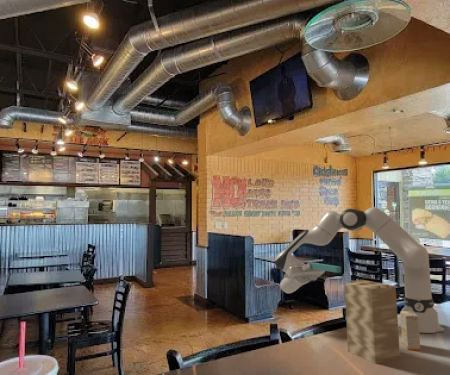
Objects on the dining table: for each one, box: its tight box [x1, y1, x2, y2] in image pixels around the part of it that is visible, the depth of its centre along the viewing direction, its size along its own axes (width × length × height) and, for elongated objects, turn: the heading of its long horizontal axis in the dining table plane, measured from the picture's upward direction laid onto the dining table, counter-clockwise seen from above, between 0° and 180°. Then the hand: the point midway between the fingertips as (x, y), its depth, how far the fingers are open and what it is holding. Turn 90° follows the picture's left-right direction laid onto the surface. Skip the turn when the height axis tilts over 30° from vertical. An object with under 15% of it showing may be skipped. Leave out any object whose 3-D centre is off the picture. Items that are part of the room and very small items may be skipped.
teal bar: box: [306, 261, 342, 274], centre depth 165 cm, size 21×2×2 cm, turn 23°
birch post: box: [344, 279, 401, 364], centre depth 139 cm, size 14×12×27 cm
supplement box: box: [399, 310, 421, 351], centre depth 145 cm, size 8×5×13 cm, turn 168°
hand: (313, 264), depth 172 cm, fingers closed on teal bar, 2 cm apart
